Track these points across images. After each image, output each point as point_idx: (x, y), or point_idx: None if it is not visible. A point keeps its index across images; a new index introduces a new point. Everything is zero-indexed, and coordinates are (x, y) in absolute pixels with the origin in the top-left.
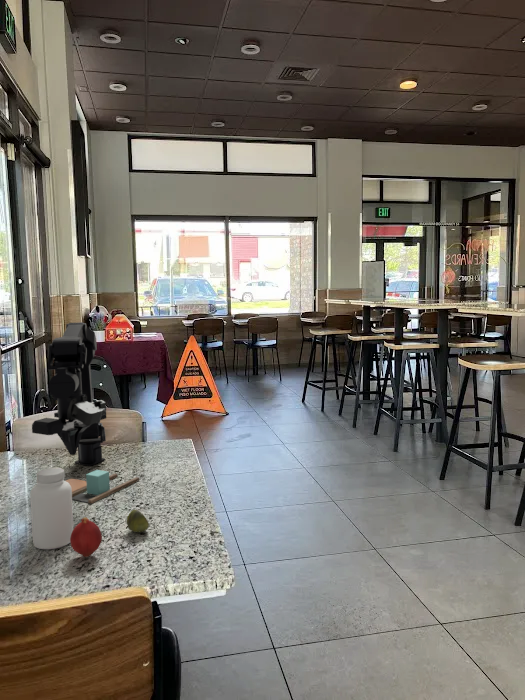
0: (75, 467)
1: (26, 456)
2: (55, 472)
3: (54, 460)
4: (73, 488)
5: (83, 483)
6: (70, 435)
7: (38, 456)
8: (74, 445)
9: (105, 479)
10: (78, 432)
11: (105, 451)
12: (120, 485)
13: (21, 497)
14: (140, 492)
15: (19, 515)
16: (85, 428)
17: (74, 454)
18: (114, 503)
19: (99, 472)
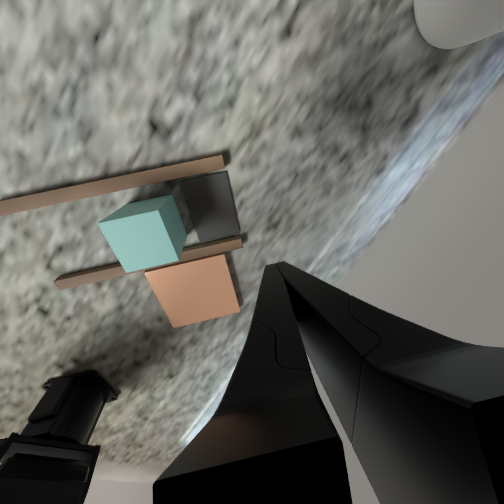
0: (126, 379)
1: (172, 448)
2: None
3: (143, 421)
4: (204, 271)
5: (168, 283)
6: (466, 348)
7: (157, 443)
8: (300, 288)
9: (128, 211)
10: (318, 395)
11: (22, 421)
12: (84, 191)
13: None
14: (37, 90)
15: (354, 233)
16: (189, 473)
17: (272, 264)
18: (170, 85)
19: (132, 244)
